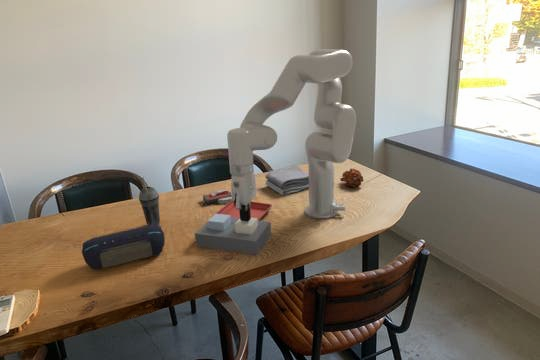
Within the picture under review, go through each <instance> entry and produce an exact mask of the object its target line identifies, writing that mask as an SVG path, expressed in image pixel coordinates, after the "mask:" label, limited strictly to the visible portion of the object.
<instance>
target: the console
mask: <svg viewBox="0 0 540 360" xmlns="http://www.w3.org/2000/svg"><path fill="white" fill-rule="evenodd" d="M239 219H240V218H232V217H231V225H230V226H229V227H228V228H227V229H226V231H218V230H210V229H209V227H208V220H207V221H206V222H205V223H204V224H203V225H202V226H201V227H200V228H199V229H197V230H196V231H195V232H194V238H195V245H196V247H197V248H199V247H200V248H205V249H212V250H218V251H225V252H233V253H240V254H247V255H255V256H258V254H259V253H260V252H261V250H262V249H263V247H264V246H265V245H266V243H267V242H268V240H269V239H270V237H271V236H272V222H271V221H266V220H258V228H257V230H256V231H255V232H254V234H253V235H249V234H241V233H236V232H235V223H236V222H237V221H238V220H239Z"/></svg>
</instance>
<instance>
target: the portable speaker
mask: <svg viewBox="0 0 540 360" xmlns="http://www.w3.org/2000/svg"><path fill="white" fill-rule="evenodd" d="M165 242H166V241H165V232H164V231H163V229H162V226H160V225H159V226H157V225H149V226H148V225H144V226H140V227H135V228H132V229H127V230H121V231H117V232H113V233H108V234H105V235H100V236H96V237H93V238H92V237H91V238H90V239H87V240H85V241H84V242H83V243H82V247H81V248H82V250H81V254H82V257H83V259H84V262H85V264H86V265H88V267H90V269H92V270H102V269H105V268H106V269H107V268H110V267H114V266H118V265H122V264H126V263H130V262H132V261H137V260H142V259H145V258H149V257H154V256H157V255H159V254H160V253H162V252H163V250H164V249H163V248H164V246H165Z"/></svg>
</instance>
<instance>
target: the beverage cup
mask: <svg viewBox="0 0 540 360" xmlns="http://www.w3.org/2000/svg"><path fill="white" fill-rule="evenodd" d="M142 181H143V185H144V187H143V188H142V189H141V190H140V191H139V194H138V201H139V204H140V205H141V208H142V213H143V215H144V219H145V221H146V224H147V225H146V226H149V225H157V226H160V225H161V221H160V218H161V217H160V205H159V203H160V202H159V201H160V196H159V193H158V191H157V190H156V188H154V187H152V186H147V183H146V180H145V177H144V176H142Z"/></svg>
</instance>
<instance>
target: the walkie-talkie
mask: <svg viewBox="0 0 540 360" xmlns="http://www.w3.org/2000/svg"><path fill="white" fill-rule="evenodd" d="M202 199H203V200H202V201H203V205H204V206H206V207H207V206H213V205H226V204H228V203H229V202H230V201H231V200H232V191H229V190H227V189H225V188H224V189H219V190H216V191H215V192H213V193H212V192H210V194H209V193H208V194H204V195H202Z"/></svg>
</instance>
